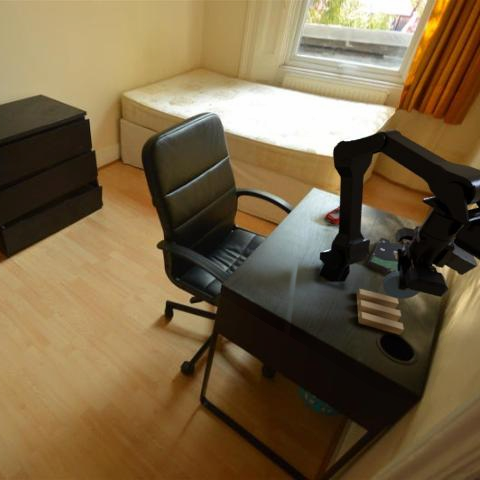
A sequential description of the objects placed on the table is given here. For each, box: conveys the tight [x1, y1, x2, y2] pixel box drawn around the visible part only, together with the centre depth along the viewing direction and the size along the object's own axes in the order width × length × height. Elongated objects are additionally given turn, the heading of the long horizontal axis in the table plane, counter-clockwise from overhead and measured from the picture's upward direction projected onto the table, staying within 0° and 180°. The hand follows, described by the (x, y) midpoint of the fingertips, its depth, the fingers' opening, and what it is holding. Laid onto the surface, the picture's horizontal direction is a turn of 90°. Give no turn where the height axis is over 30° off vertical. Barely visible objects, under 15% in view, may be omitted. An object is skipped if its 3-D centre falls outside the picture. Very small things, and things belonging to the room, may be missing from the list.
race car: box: [324, 205, 340, 226], centre depth 117 cm, size 13×5×4 cm, turn 122°
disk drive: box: [366, 237, 404, 275], centre depth 100 cm, size 10×3×15 cm
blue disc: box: [382, 271, 420, 299], centre depth 75 cm, size 7×2×7 cm, turn 68°
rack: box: [356, 288, 405, 336], centre depth 84 cm, size 9×10×3 cm
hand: (400, 286), depth 75 cm, fingers closed on blue disc, 2 cm apart
